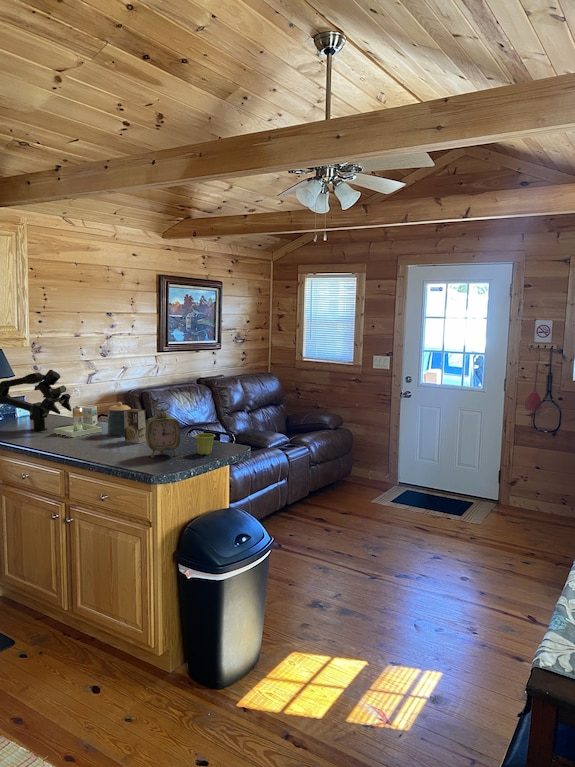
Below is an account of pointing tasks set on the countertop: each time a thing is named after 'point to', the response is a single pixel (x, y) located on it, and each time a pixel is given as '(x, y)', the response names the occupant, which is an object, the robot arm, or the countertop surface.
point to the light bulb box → (89, 415)
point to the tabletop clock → (162, 432)
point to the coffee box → (135, 425)
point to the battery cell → (77, 418)
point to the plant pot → (204, 443)
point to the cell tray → (69, 431)
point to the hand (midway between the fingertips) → (65, 412)
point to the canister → (116, 420)
